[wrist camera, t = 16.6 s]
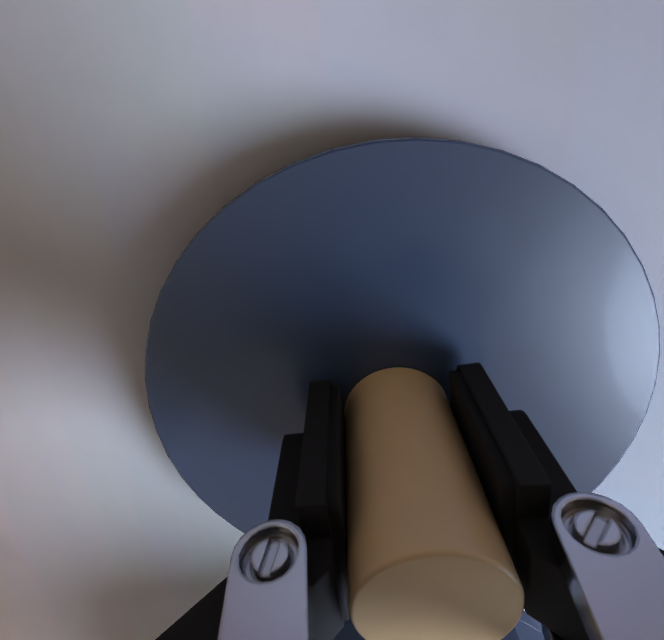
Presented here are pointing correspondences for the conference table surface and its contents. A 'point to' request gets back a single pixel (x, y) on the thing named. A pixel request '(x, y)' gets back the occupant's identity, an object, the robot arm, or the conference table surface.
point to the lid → (403, 356)
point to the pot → (523, 636)
